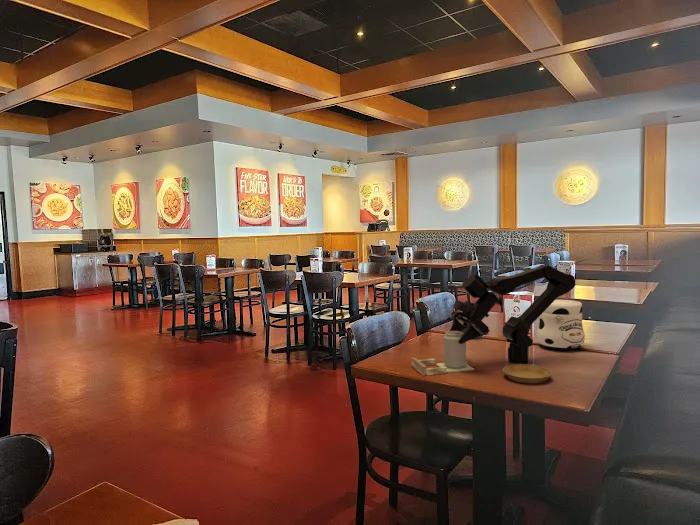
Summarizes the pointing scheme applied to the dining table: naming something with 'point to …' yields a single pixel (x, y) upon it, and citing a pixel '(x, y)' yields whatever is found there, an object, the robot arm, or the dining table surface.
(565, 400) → the dining table surface
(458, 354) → the can
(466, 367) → the mat
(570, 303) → the milk container
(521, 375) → the plant saucer
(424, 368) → the shelf lane
